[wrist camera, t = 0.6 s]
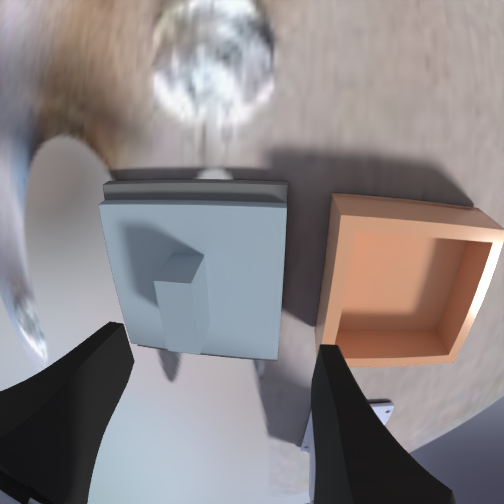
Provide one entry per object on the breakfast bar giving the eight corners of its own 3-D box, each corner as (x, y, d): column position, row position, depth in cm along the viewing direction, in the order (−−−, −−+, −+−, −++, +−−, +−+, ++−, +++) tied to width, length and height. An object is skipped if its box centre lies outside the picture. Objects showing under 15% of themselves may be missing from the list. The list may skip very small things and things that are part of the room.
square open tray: (438, 330, 21) (453, 362, 18) (314, 330, 22) (316, 366, 19) (478, 207, 17) (506, 230, 14) (331, 192, 18) (341, 214, 14)
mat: (277, 353, 24) (277, 361, 23) (140, 339, 25) (137, 345, 24) (287, 181, 18) (287, 185, 17) (108, 181, 19) (102, 185, 18)
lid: (277, 351, 22) (274, 392, 19) (134, 336, 23) (116, 370, 20) (286, 203, 17) (286, 231, 14) (104, 200, 18) (71, 224, 15)
